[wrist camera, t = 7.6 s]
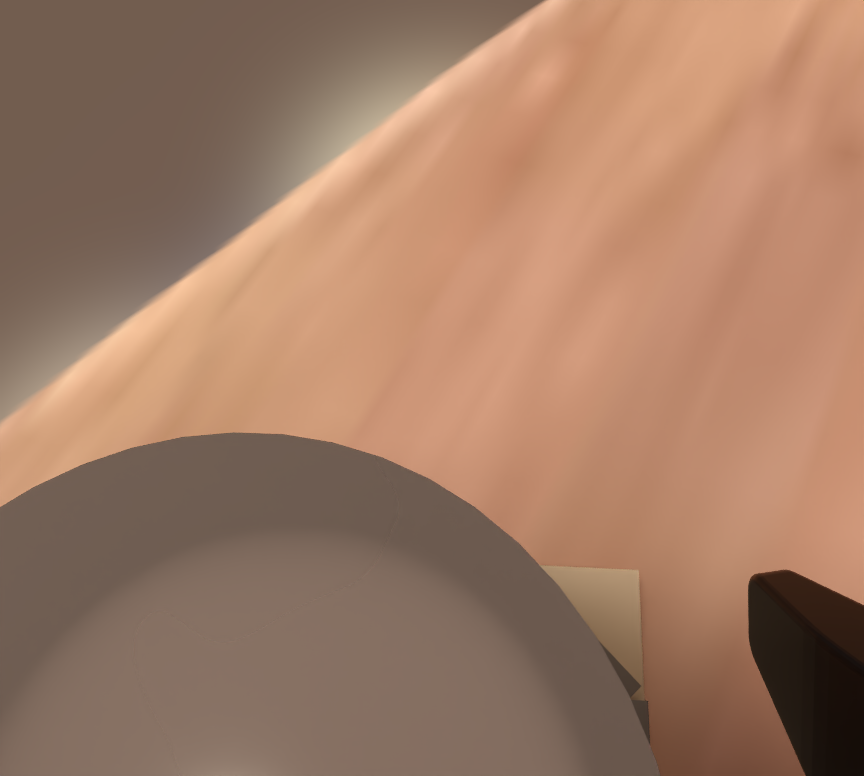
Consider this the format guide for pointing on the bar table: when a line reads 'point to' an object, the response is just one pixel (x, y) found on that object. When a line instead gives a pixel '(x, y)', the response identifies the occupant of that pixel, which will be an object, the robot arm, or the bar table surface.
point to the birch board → (611, 621)
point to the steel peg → (289, 626)
